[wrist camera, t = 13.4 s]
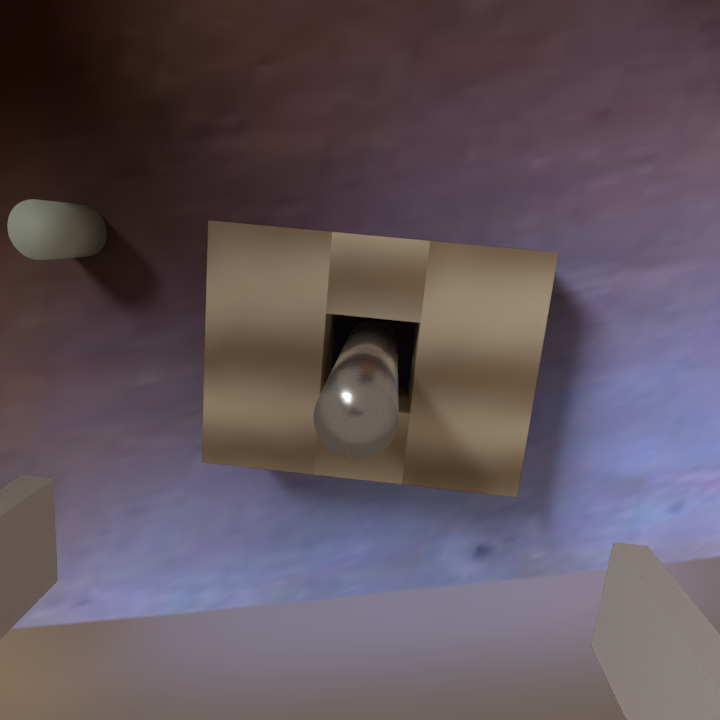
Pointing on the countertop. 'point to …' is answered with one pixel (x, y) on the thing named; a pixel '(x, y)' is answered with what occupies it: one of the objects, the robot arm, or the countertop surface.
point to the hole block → (382, 301)
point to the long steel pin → (361, 394)
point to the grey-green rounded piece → (56, 229)
